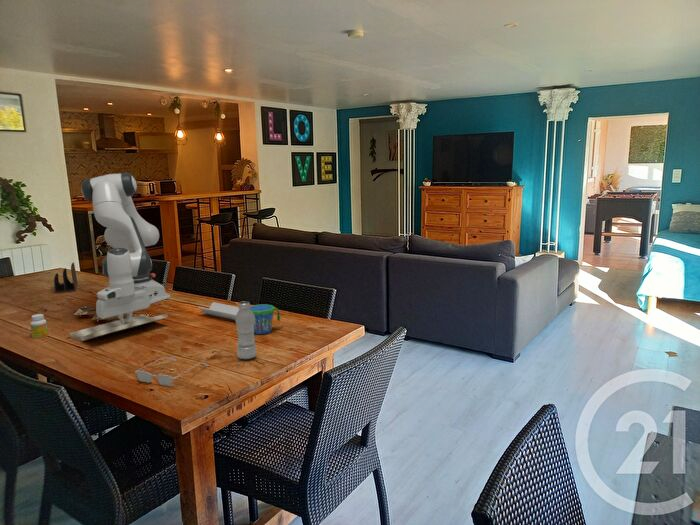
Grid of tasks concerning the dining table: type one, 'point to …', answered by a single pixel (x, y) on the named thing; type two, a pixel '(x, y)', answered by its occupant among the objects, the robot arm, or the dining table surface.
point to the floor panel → (104, 327)
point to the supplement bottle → (39, 326)
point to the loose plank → (123, 327)
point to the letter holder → (66, 282)
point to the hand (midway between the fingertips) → (126, 323)
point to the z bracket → (221, 310)
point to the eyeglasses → (161, 379)
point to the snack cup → (263, 317)
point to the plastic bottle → (245, 331)
